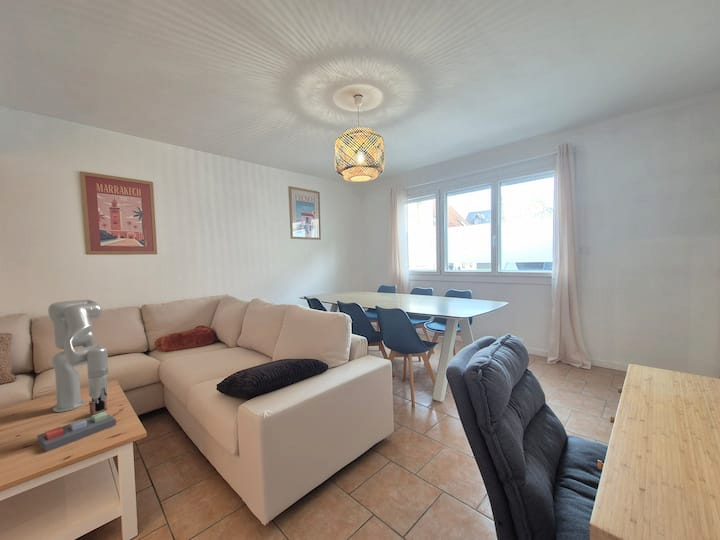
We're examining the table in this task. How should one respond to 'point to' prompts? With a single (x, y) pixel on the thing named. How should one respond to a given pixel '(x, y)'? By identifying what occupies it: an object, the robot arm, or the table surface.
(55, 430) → the red button
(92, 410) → the lighter
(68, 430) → the button panel
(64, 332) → the robot arm
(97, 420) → the sage button
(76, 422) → the bluegrey button
